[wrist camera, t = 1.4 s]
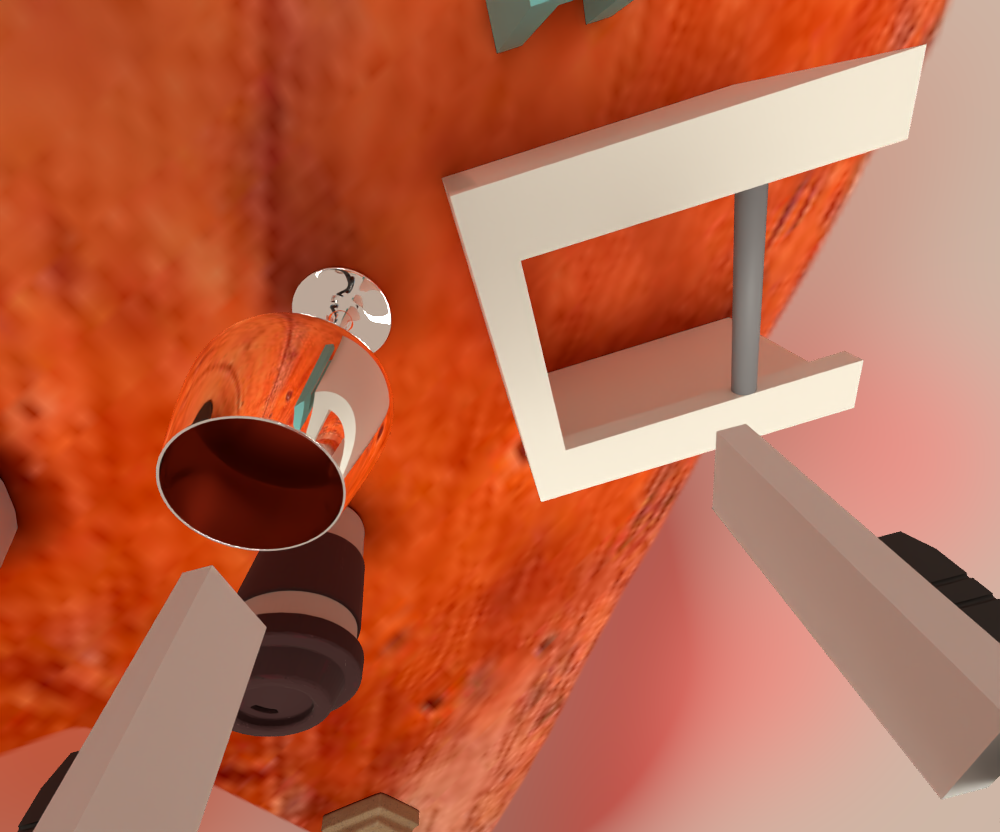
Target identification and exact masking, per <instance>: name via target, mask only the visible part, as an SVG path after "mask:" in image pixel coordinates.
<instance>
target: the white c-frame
mask: <svg viewBox="0 0 1000 832" xmlns="http://www.w3.org/2000/svg"><path fill="white" fill-rule="evenodd" d="M926 45H927V44H925V45H920V46H916V47H911V48H906V49H901V50H896V51H892V52H887V53H882V54H877V55H873V56H868V57H863V58H858V59H854V60H849V61H844V62H839V63H835V64H830V65H825V66H820V67H815V68H811V69H806V70H801V71H796V72H792V73H787V74H782V75H777V76H773V77H768V78H763V79H758V80H754V81H749V82H744V83H739V84H734V85H731V86H728V87H724V88H721V89H718V90H715V91H712V92H709V93H706V94H703V95H699V96H696V97H693V98H690V99H687V100H684V101H681V102H678V103H674V104H671V105H668V106H665V107H662V108H659V109H656V110H653V111H649V112H646V113H643V114H640V115H637V116H634V117H631V118H628V119H624V120H621V121H618V122H615V123H612V124H609V125H606V126H603V127H600V128H596V129H593V130H590V131H587V132H584V133H581V134H578V135H575V136H571V137H568V138H565V139H562V140H559V141H556V142H553V143H550V144H546V145H543V146H540V147H537V148H534V149H531V150H528V151H525V152H521V153H518V154H515V155H512V156H509V157H506V158H503V159H500V160H497V161H493V162H490V163H487V164H484V165H481V166H478V167H475V168H472V169H468V170H465V171H462V172H459V173H456V174H453V175H450V176H447V177H443V178H442V181H443V184H444V188H445V191H446V194H447V198H448V201H449V204H450V208H451V211H452V214H453V218H454V221H455V224H456V227H457V231H458V234H459V237H460V241H461V244H462V247H463V251H464V254H465V257H466V261H467V264H468V267H469V270H470V274H471V277H472V280H473V284H474V287H475V290H476V294H477V297H478V300H479V304H480V307H481V310H482V314H483V317H484V320H485V323H486V327H487V330H488V333H489V337H490V340H491V343H492V347H493V350H494V353H495V357H496V360H497V363H498V366H499V370H500V373H501V376H502V380H503V383H504V386H505V390H506V393H507V396H508V400H509V403H510V406H511V409H512V412H513V415H514V418H515V421H516V425H517V428H518V431H519V434H520V437H521V440H522V443H523V447H524V450H525V453H526V456H527V459H528V462H529V465H530V468H531V472H532V475H533V478H534V481H535V484H536V487H537V490H538V494H539V497H540V500H541V502H542V501H546V500H549V499H552V498H556V497H559V496H562V495H566V494H569V493H572V492H576V491H579V490H582V489H586V488H589V487H592V486H596V485H599V484H602V483H605V482H609V481H612V480H615V479H619V478H622V477H625V476H629V475H632V474H635V473H639V472H642V471H645V470H649V469H652V468H655V467H659V466H662V465H665V464H668V463H672V462H675V461H678V460H682V459H685V458H688V457H692V456H695V455H698V454H702V453H705V452H708V451H711V450H715V449H716V432H717V431H720V430H724V429H727V428H731V427H735V426H739V425H743V424H747V425H748V426H749V427H750V428H752V429H753V430H754V431H755V432H756V433H757V434H758V435H760V436H761V435H765V434H768V433H771V432H775V431H778V430H781V429H785V428H787V427H791V426H795V425H798V424H801V423H804V422H807V421H811V420H814V419H818V418H821V417H824V416H828V415H831V414H834V413H838V412H841V411H844V410H847V409H851V408H854V404H855V399H856V394H857V389H858V384H859V379H860V374H861V369H862V364H863V360H862V359H860V358H858V357H856V356H854V355H852V354H850V353H848V352H846V351H843V352H840V353H837V354H833V355H830V356H827V357H824V358H820V359H817V360H814V361H811V362H808V361H806V360H804V359H803V358H801V357H799V356H797V355H795V354H794V353H792V352H790V351H788V350H786V349H785V348H783V347H781V346H779V345H778V344H776V343H774V342H772V341H770V340H769V339H767V338H765V337H763V336H761V335H760V322H761V304H762V286H763V269H764V251H765V233H766V215H767V198H768V183H770V182H773V181H776V180H779V179H782V178H786V177H789V176H792V175H795V174H798V173H802V172H805V171H808V170H811V169H814V168H817V167H821V166H824V165H827V164H830V163H833V162H837V161H840V160H843V159H846V158H849V157H852V156H856V155H859V154H862V153H865V152H868V151H871V150H875V149H878V148H881V147H884V146H887V145H891V144H894V143H897V142H900V141H903V140H906V139H908V134H909V130H910V125H911V120H912V114H913V110H914V105H915V100H916V95H917V90H918V85H919V79H920V75H921V70H922V65H923V60H924V55H925V50H926ZM732 194H735V204H734V256H733V307H732V319H731V318H729V317H728V318H725V319H721V320H718V321H715V322H712V323H708V324H705V325H702V326H699V327H695V328H692V329H689V330H686V331H683V332H679V333H676V334H673V335H670V336H666V337H663V338H660V339H657V340H653V341H650V342H647V343H644V344H640V345H637V346H634V347H631V348H627V349H624V350H621V351H618V352H614V353H611V354H608V355H605V356H601V357H598V358H595V359H592V360H588V361H585V362H582V363H579V364H575V365H572V366H569V367H566V368H562V369H559V370H556V371H553V372H549V373H547V370H546V365H545V361H544V357H543V353H542V348H541V344H540V340H539V336H538V332H537V327H536V323H535V319H534V315H533V310H532V306H531V302H530V298H529V294H528V289H527V285H526V281H525V277H524V272H523V268H522V264H521V261H522V260H525V259H528V258H531V257H535V256H538V255H541V254H544V253H547V252H550V251H554V250H557V249H560V248H563V247H566V246H570V245H573V244H576V243H579V242H582V241H585V240H589V239H592V238H595V237H598V236H601V235H604V234H608V233H611V232H614V231H617V230H620V229H624V228H627V227H630V226H633V225H636V224H639V223H643V222H646V221H649V220H652V219H655V218H659V217H662V216H665V215H668V214H671V213H674V212H678V211H681V210H684V209H687V208H690V207H693V206H697V205H700V204H703V203H706V202H709V201H713V200H716V199H719V198H722V197H725V196H728V195H732Z"/></svg>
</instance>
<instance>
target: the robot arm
mask: <svg viewBox="0 0 1000 832" xmlns="http://www.w3.org/2000/svg"><path fill="white" fill-rule="evenodd" d="M712 509H713V510H714V512H715V513H716V514H717V515H718V517H719V518H720V519H721V521H723V523H724V524H725V526H726V527H727V528H728V529H729V531H730V532H731V533H732V535H733V536H734V537H735V538H736V540H737V541H738V542H739V543H740V545H741V546H742V547H743V548H744V550H745V551H746V552H747V554H748V555H749V556H750V557H751V559H752V560H753V561H754V562H755V564H756V565H757V566H758V568H759V569H760V570H761V571H762V573H763V574H764V575H765V576H766V578H767V579H768V580H769V581H770V583H771V584H772V585H773V587H774V588H775V589H776V590H777V591H778V593H779V594H780V595H781V596H782V598H783V599H784V601H785V602H786V603H787V604H788V606H789V607H790V608H791V609H792V611H793V612H794V613H795V614H796V616H797V617H798V618H799V620H800V621H801V622H802V623H803V625H804V626H805V627H806V628H807V630H808V631H809V632H810V634H811V635H812V636H813V637H814V638H815V640H816V641H817V642H818V644H819V645H820V646H821V647H822V649H823V650H824V651H825V653H826V654H827V655H828V656H829V657H830V659H831V660H832V661H833V663H834V664H835V665H836V666H837V668H838V669H839V670H840V672H841V673H842V674H843V675H844V677H845V678H846V679H847V680H848V682H849V683H850V684H851V685H852V687H853V688H854V689H855V691H856V692H857V693H858V694H859V696H860V697H861V698H862V699H863V701H864V702H865V703H866V704H867V706H868V707H869V708H870V710H871V711H872V712H873V713H874V715H875V716H876V717H877V719H878V720H879V721H880V722H881V724H882V725H883V726H884V727H885V729H886V730H887V731H888V733H889V734H890V735H891V736H892V738H893V739H894V740H895V741H896V742H897V744H898V745H899V746H900V748H901V749H902V750H903V751H904V753H905V754H906V755H907V757H908V758H909V759H910V760H911V762H912V763H913V764H914V766H915V767H916V768H917V769H918V771H919V772H920V773H921V774H922V776H923V777H924V778H925V779H926V781H927V782H928V783H929V785H930V786H931V787H932V788H933V790H934V791H935V792H936V793H937V795H938V796H939V797H940V799H946V798H950V797H953V796H957V795H961V794H965V793H968V792H972V791H976V790H980V789H983V788H987V787H989V786H990V785H991V784H992V783H993V782H994V781H995V780H996V779H997V778H998V777H999V776H1000V599H996V598H994V597H993V595H992V594H993V593H991V592H990V591H989V590H988V589H986V588H985V587H984V586H983V585H981V584H980V583H979V582H978V581H976V580H975V579H974V578H969V577H968V576H967V573H966V572H965V571H964V570H962V569H961V568H960V567H959V566H957V565H956V564H955V563H953V562H952V561H951V560H950V559H948V558H947V557H946V556H945V555H943V554H942V553H941V552H939V551H938V550H937V549H935V548H933V547H931V546H929V545H927V544H925V543H923V542H921V541H919V540H917V539H915V538H913V537H911V536H909V535H907V534H905V533H902V532H901V531H900V532H896V533H893V534H889V535H885V536H882V537H876V536H875V535H874V534H873V533H872V532H870V531H869V530H868V529H867V528H866V527H865V526H864V525H862V524H861V523H860V522H859V521H858V520H857V519H855V518H854V517H853V516H852V515H851V514H850V513H849V512H847V511H846V510H845V509H844V508H843V507H842V506H840V505H839V504H838V503H837V502H836V501H835V500H833V499H832V498H831V497H830V496H829V495H828V494H826V493H825V492H824V491H823V490H822V489H821V488H820V487H819V486H817V485H816V484H815V483H814V482H813V481H812V480H810V479H809V478H808V477H807V476H806V475H805V474H803V473H802V472H801V471H800V470H799V469H798V468H797V467H795V466H794V465H793V464H792V463H791V462H789V461H788V460H787V459H786V458H785V457H784V456H783V455H781V454H780V453H779V452H778V451H777V450H776V449H775V448H773V447H772V446H771V445H770V444H769V443H768V442H767V441H765V440H764V439H763V438H762V437H761V436H760V435H758V434H757V433H756V432H755V431H754V430H753V429H752V428H750V427H749V426H748V425H747V424H743V425H739V426H735V427H731V428H727V429H724V430H720V431H717V432H716V451H715V470H714V488H713V508H712ZM266 628H267V627H266V626H265V625H264V624H263V623H262V621H261V620H260V619H259V618H258V617H257V616H256V615H255V613H254V612H253V611H252V610H251V609H250V608H249V607H248V605H247V604H246V603H245V602H244V601H243V600H242V599H241V597H240V596H239V595H238V594H237V593H236V592H235V591H234V589H233V588H232V587H231V586H230V585H229V584H228V583H227V581H226V580H225V579H224V578H223V577H222V576H221V575H220V573H219V572H218V571H217V570H216V569H215V568H214V567H213V565H211V566H207V567H203V568H200V569H196V570H192V571H188V572H185V573H182V575H181V577H180V579H179V580H178V582H177V584H176V585H175V587H174V589H173V591H172V592H171V594H170V596H169V598H168V599H167V601H166V603H165V604H164V606H163V608H162V610H161V611H160V613H159V615H158V617H157V618H156V620H155V622H154V623H153V625H152V627H151V629H150V630H149V632H148V634H147V636H146V637H145V639H144V641H143V642H142V644H141V646H140V648H139V649H138V651H137V653H136V654H135V656H134V658H133V660H132V661H131V663H130V665H129V667H128V668H127V670H126V672H125V673H124V675H123V677H122V679H121V680H120V682H119V684H118V686H117V687H116V689H115V691H114V692H113V694H112V696H111V698H110V699H109V701H108V703H107V705H106V706H105V708H104V710H103V711H102V713H101V715H100V717H99V718H98V720H97V722H96V723H95V725H94V727H93V729H92V730H91V732H90V734H89V736H88V738H87V739H86V741H85V743H84V744H83V746H82V748H81V749H80V751H77V752H73V753H71V754H70V755H69V756H68V757H67V758H66V760H65V761H64V762H63V763H62V764H61V765H60V767H59V768H58V769H57V770H56V771H55V773H54V774H53V775H52V776H51V777H50V778H49V780H48V781H47V782H46V783H45V784H44V786H43V787H42V788H41V790H40V791H39V793H38V794H37V796H36V798H35V799H34V801H33V803H32V804H31V806H30V808H29V809H28V811H27V813H26V814H25V816H24V817H23V819H22V821H21V822H20V824H19V826H18V827H19V830H18V832H197V831H198V829H199V825H200V823H201V820H202V817H203V814H204V811H205V807H206V805H207V802H208V799H209V796H210V793H211V790H212V787H213V784H214V781H215V778H216V775H217V772H218V769H219V767H220V764H221V761H222V758H223V755H224V752H225V749H226V746H227V743H228V740H229V737H230V734H231V731H232V728H233V725H234V722H235V719H236V716H237V713H238V710H239V707H240V704H241V702H242V699H243V696H244V693H245V690H246V687H247V684H248V681H249V678H250V675H251V672H252V669H253V666H254V663H255V660H256V657H257V654H258V651H259V648H260V645H261V642H262V640H263V637H264V634H265V631H266Z"/></svg>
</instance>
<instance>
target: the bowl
mask: <svg viewBox="0 0 1000 832" xmlns="http://www.w3.org/2000/svg"><path fill="white" fill-rule="evenodd" d="M17 528H18V527H17V520H16V513H15V509H14V506H13V504H12V502H11V499H10V497H9V494H8V492H7V490H6V487H5V485H4V483H3V481H2V480H1V479H0V568H1V565H2V563H3V561H4V559H5V556H6V554H7V552H8V549H9V547H10V545H11V542H12V540H13V538H14V536H15V533H16V531H17Z"/></svg>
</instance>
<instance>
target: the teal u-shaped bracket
mask: <svg viewBox="0 0 1000 832" xmlns="http://www.w3.org/2000/svg"><path fill="white" fill-rule="evenodd" d="M570 1H573V0H486V4H487V9H488V14H489V18H490V23H491V28H492V32H493V37H494V42H495V47H496V51H497V54H498V53H501V52H504V51H507V50H510V49H513V48H516V47H519V46H522V45H523V44H524V43H525V42H526V40H527V39H528V38H529V37H530V36H531V35H532V34H533V33H534V32H535V31H536V29H537V28H538V27H539V26H540V25H541V24H542V23H543V22H544V21H545V19H546V18H547V17H548V16H549V15H550V14H551V13H552V12H553V11H554V10H555V8H556V7H557V6H558V5H561V4H564V3H567V2H570ZM632 1H633V0H583V4H584V12H585V20H586V25H587V24H590V23H593V22H596V21H599V20H602V19H605V18H608V17H611V16H613V15H614V14H615V13H617V12H618V11H619V10H621V9H622V8H624V7H625V6H626V5H628V4H629V3H630V2H632Z"/></svg>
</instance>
